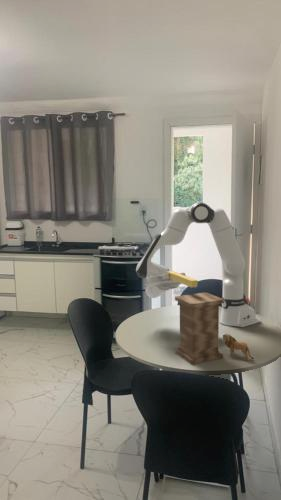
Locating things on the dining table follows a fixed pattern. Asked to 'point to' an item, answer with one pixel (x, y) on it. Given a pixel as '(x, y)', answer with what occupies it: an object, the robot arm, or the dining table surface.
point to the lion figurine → (235, 345)
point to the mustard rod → (182, 279)
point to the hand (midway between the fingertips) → (172, 274)
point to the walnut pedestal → (199, 327)
